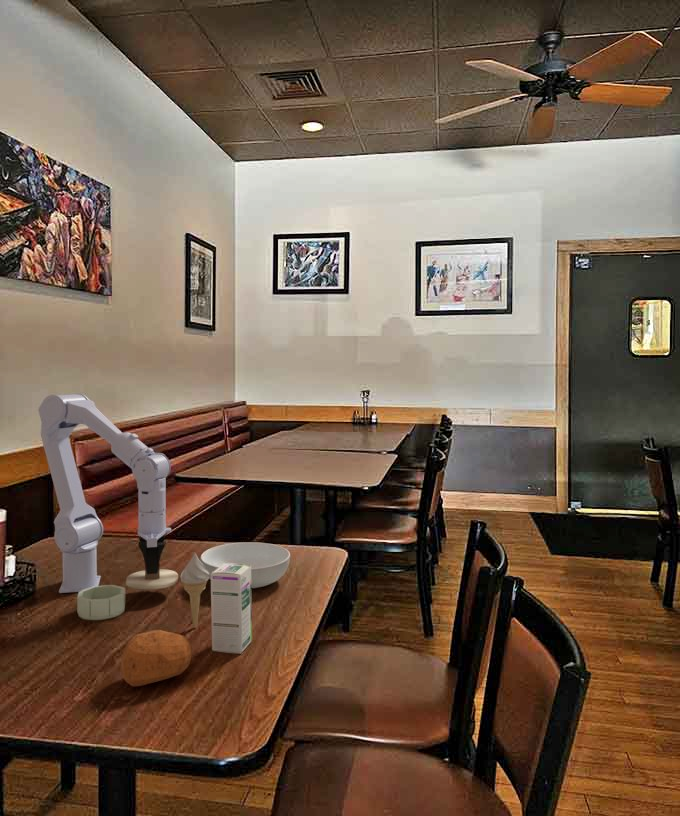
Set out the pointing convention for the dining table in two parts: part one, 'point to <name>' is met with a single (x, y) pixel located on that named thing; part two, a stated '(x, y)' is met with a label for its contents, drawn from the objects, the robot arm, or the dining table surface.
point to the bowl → (101, 602)
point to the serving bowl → (250, 560)
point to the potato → (155, 657)
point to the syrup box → (231, 608)
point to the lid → (152, 579)
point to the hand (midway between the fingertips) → (152, 570)
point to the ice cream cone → (194, 583)
